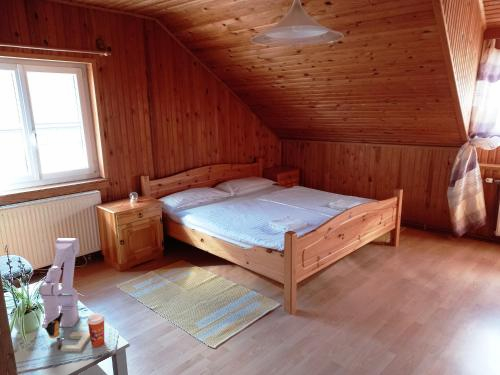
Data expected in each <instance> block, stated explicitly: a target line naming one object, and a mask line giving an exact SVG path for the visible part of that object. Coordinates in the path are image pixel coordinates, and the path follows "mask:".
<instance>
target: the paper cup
mask: <svg viewBox="0 0 500 375" xmlns="http://www.w3.org/2000/svg"><path fill="white" fill-rule="evenodd" d="M105 319H106V317H105V315H104V314H103V313H100V312H95V313H91V314H90V315H89V316H88V317H87V319H86V323H87V325H88V332H89V333H90V338H89V340H90V343H91V346H92V347H93V348H100V347H101V345H102V346H103V345H104V344H105Z"/></svg>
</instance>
